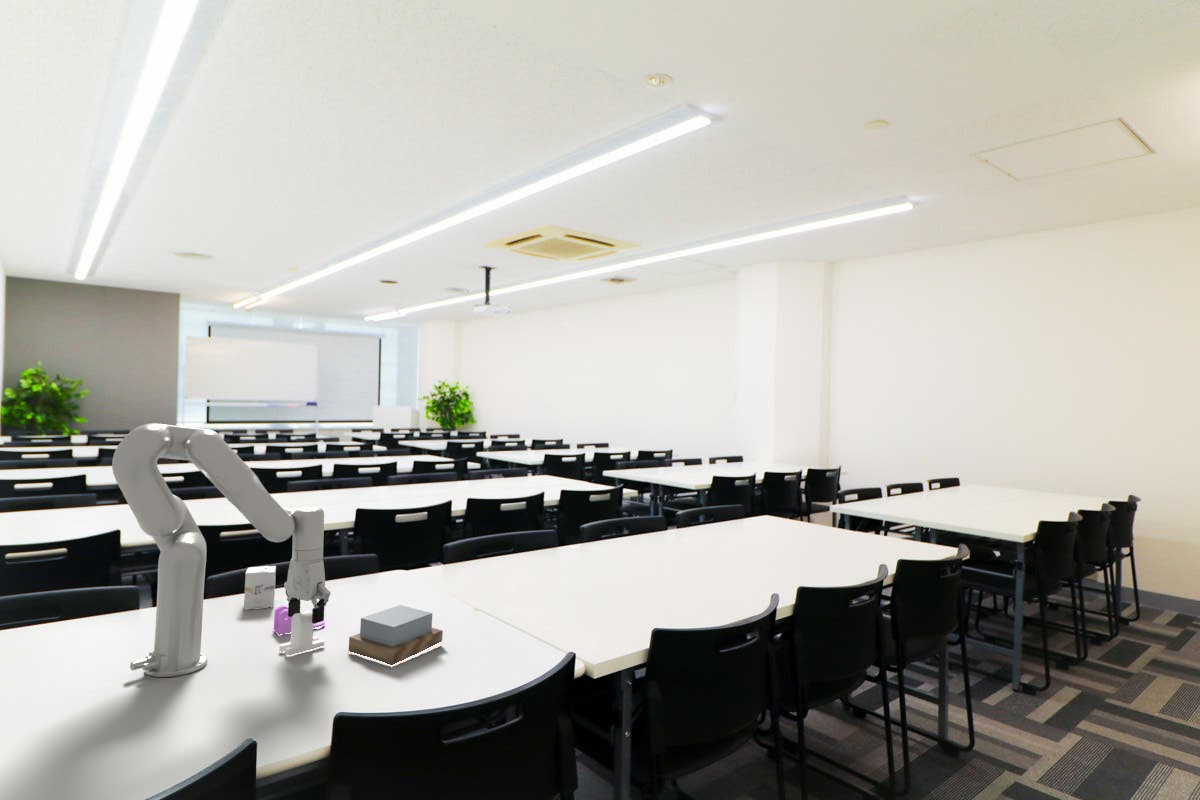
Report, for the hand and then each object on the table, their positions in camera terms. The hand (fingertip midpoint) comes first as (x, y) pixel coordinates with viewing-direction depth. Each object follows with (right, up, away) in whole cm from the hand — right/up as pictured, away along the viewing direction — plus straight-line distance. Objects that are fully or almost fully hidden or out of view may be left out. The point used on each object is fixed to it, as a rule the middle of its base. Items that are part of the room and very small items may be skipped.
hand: (305, 618), depth 170 cm
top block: (+23, -5, +2) cm, 24 cm away
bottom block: (+23, -10, +2) cm, 25 cm away
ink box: (-31, -8, +34) cm, 47 cm away
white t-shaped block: (-1, -8, 0) cm, 8 cm away
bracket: (-8, -9, +15) cm, 19 cm away
